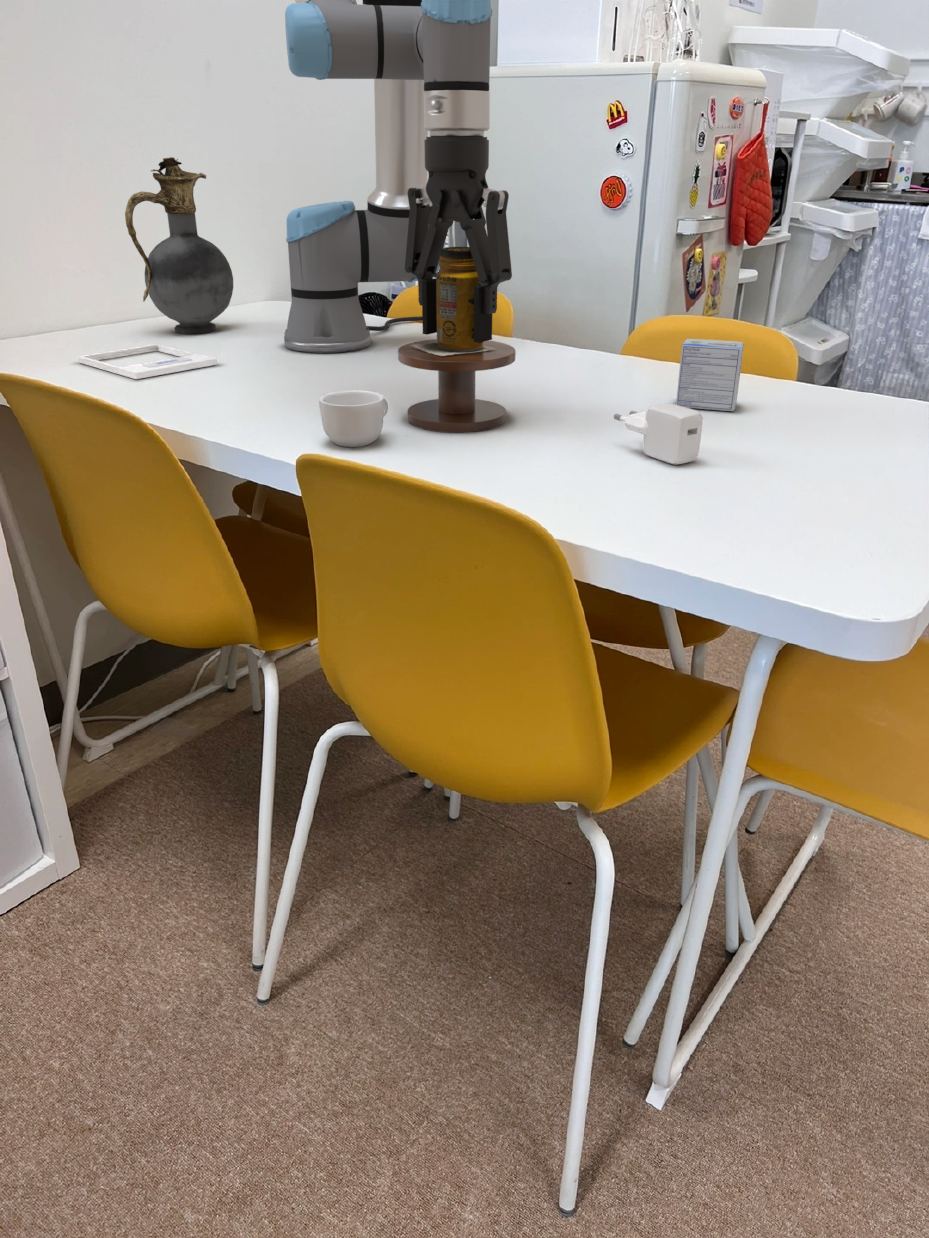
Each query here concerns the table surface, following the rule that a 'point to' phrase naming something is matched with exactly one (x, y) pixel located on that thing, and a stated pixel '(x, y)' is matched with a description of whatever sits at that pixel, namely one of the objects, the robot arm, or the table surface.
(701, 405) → the medicine box
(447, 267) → the condiment
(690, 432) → the power adapter
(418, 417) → the stand
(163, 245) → the pitcher
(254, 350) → the table surface
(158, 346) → the photo frame
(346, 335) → the robot arm
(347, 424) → the teacup
